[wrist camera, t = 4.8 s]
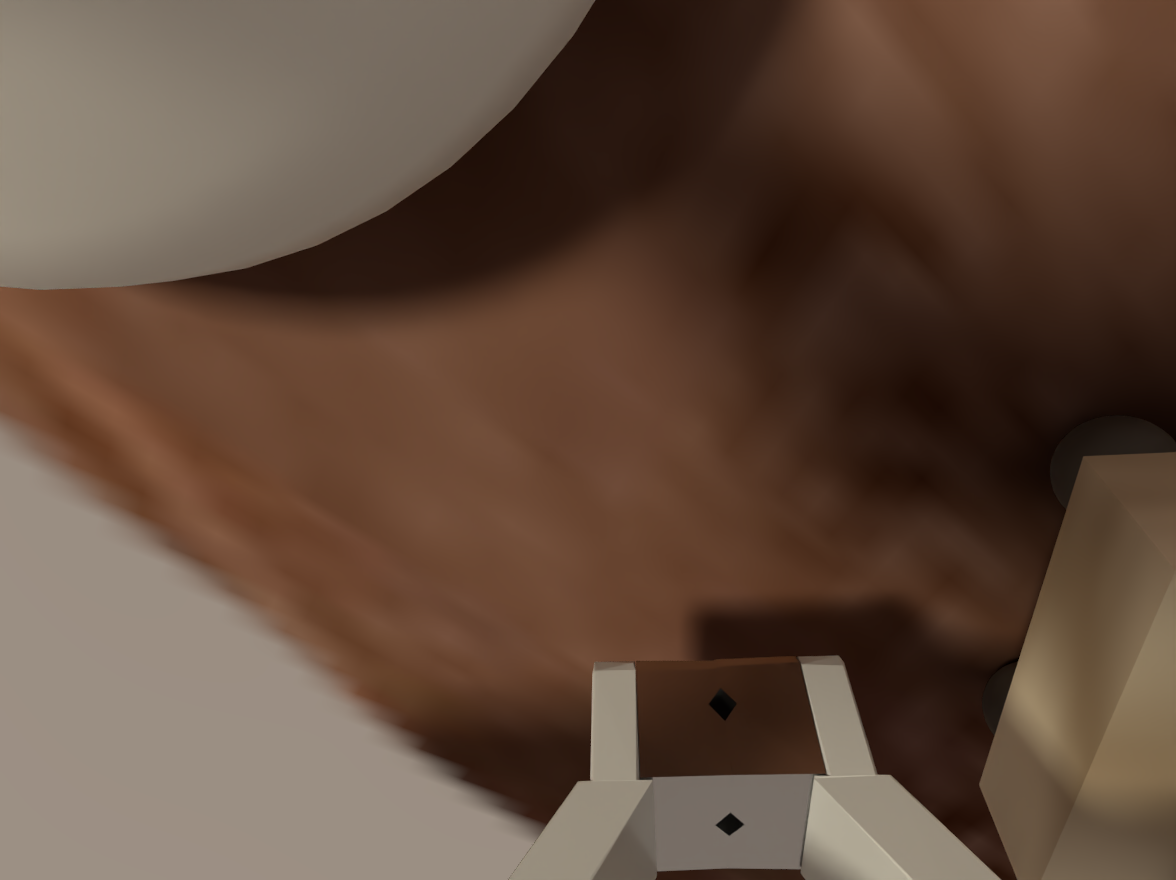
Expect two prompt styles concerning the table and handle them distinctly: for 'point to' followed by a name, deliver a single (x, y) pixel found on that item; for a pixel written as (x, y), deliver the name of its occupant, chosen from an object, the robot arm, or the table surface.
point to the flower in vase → (239, 123)
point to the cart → (1095, 673)
